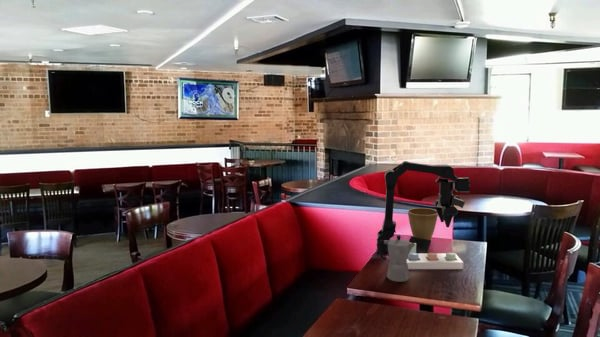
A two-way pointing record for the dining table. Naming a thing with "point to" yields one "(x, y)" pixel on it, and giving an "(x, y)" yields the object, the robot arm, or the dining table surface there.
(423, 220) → the plant pot
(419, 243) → the handheld gaming console
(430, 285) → the dining table surface
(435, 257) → the terracotta button
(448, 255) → the sage green button
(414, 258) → the slate blue button
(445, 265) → the button panel
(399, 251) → the coffeepot
